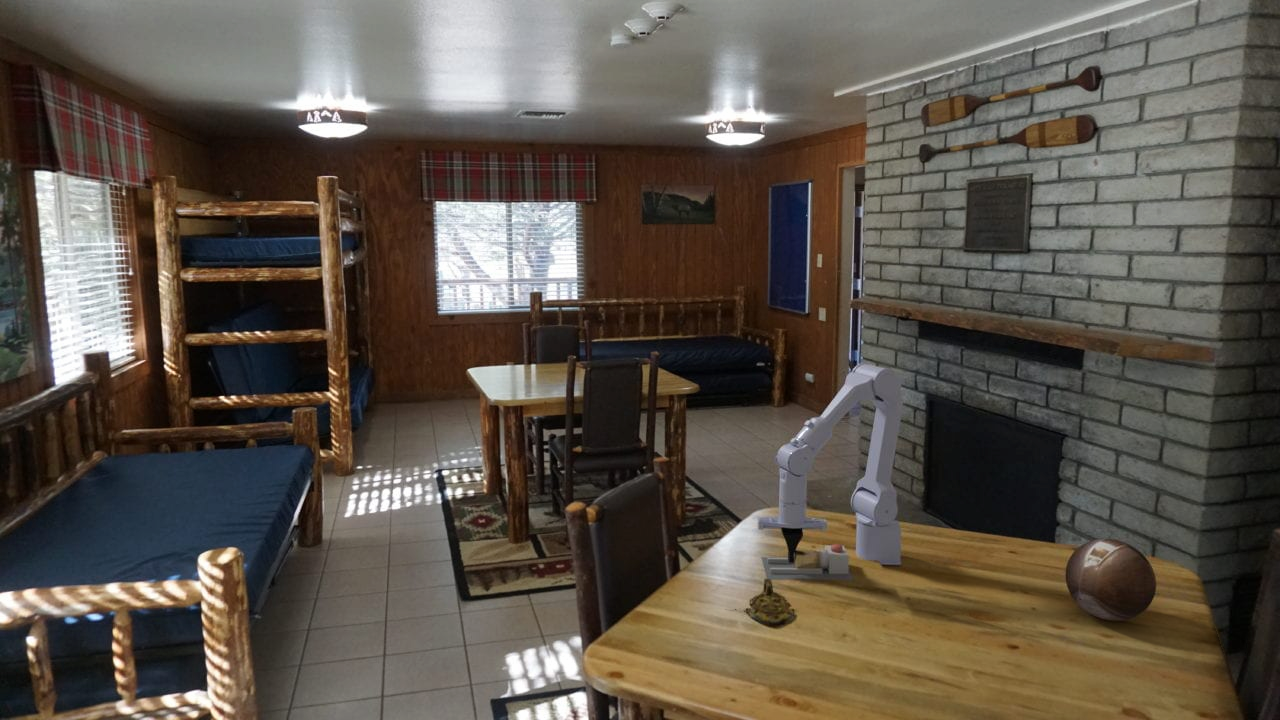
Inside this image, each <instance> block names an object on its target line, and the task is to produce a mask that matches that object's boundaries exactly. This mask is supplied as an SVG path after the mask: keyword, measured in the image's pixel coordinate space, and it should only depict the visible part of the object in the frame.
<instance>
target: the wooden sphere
mask: <svg viewBox="0 0 1280 720" xmlns="http://www.w3.org/2000/svg"><path fill="white" fill-rule="evenodd" d="M1140 551H1141V550H1139V549H1137V548H1136V547H1134V546H1132V545H1131V544H1129V543H1126V542H1124V541H1121V540H1118V539H1112V538H1099V539H1093V540H1090V541H1087V542H1085V543H1083V544H1081V545H1080V546H1079V547H1078V548H1076V549H1075V550H1074V551H1073V553H1071V556H1070V557H1069V559H1068V561H1067V563H1066V566H1065V567H1066V568H1065V583H1066V587H1067V589H1068V592H1069V594H1070V596H1071V597H1072V599H1073V600H1074V601H1075V603H1076V604H1077V605H1078V606H1079V607H1080V608H1081V609H1083V610H1084V611H1085V612H1087V613H1088V614H1090V615H1092V616H1094V617H1097V618H1099V619H1102V620H1106V621H1114V622H1115V621H1117V622H1118V621H1126V620H1130V619H1133V618H1135V617H1138V616H1139V615H1141V614H1142V613H1143V612H1145V611H1146V610H1147V609H1148V608H1149V606H1150V605H1151V604H1152V602H1153V601H1154V598H1155V595H1156V591H1157V579H1156V573H1155V571H1154V568H1153V567H1152V565H1151V563H1150V561H1149V560H1148V558H1147V557H1146V556H1145V555H1144V554H1143V553H1142V552H1140Z"/></svg>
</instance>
